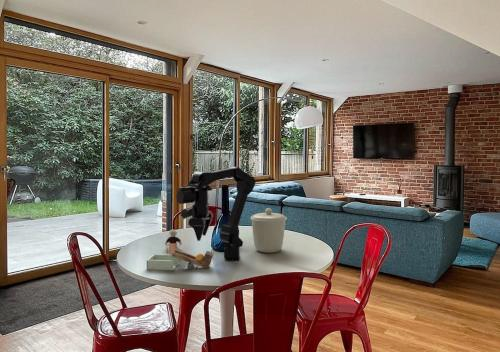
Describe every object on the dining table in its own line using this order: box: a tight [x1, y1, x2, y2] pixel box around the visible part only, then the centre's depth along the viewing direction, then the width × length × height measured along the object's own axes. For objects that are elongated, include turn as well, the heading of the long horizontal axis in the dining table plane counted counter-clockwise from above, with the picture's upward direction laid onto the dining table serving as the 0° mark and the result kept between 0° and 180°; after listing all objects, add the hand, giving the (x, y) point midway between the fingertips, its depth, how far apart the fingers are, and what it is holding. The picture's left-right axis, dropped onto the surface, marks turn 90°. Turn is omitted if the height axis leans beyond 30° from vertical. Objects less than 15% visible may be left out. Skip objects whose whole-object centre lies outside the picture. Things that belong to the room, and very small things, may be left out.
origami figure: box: [164, 241, 183, 252], centre depth 188 cm, size 12×8×5 cm
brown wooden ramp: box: [172, 249, 214, 270], centre depth 157 cm, size 16×5×6 cm, turn 86°
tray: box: [146, 253, 180, 271], centre depth 158 cm, size 11×9×4 cm
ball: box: [195, 252, 205, 262], centre depth 157 cm, size 4×4×4 cm
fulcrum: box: [182, 262, 198, 271], centre depth 157 cm, size 5×6×2 cm
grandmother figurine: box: [164, 229, 183, 255], centre depth 174 cm, size 8×4×13 cm, turn 105°
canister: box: [250, 207, 288, 254], centre depth 184 cm, size 18×18×21 cm
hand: (201, 238), depth 159 cm, fingers open, 9 cm apart
